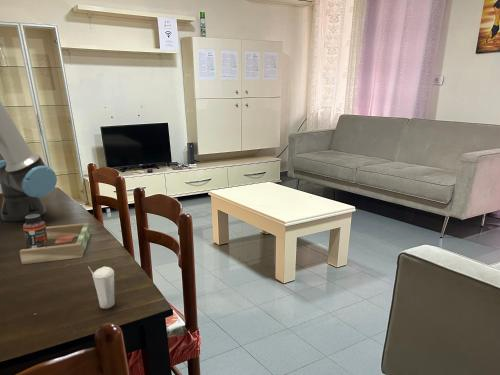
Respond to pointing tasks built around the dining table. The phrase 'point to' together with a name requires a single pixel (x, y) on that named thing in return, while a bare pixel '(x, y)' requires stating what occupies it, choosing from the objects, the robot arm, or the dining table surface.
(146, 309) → the dining table surface
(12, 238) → the dining table surface
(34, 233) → the supplement bottle
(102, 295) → the milkshake
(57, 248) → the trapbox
